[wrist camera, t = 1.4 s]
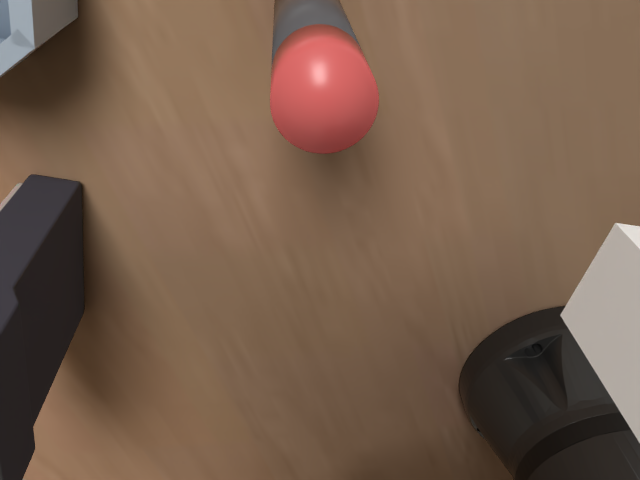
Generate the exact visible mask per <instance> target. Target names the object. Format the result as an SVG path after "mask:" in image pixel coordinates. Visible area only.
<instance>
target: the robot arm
mask: <svg viewBox="0 0 640 480" xmlns="http://www.w3.org/2000/svg"><path fill="white" fill-rule="evenodd" d="M459 391H460V396H461V399H462V402H463V405H464V408H465V410H466V413H467V416H468V418H469V420H470V422H471V424H472V426H473V427H474V428H475V430H476V431H477V432H478V433H479V434H480V435H481V436H482V437H483V438H484V439H485V440H486V441H487V442H488V444H489V445H490V446H491V448H492V449H493V451H494V452H495V453H496V455H497V456H498V457H499V459H500V460H501V461H502V463H503V464H504V465H505V467H506V468H507V469H508V471H509V472H510V473H511V475H512V476H513V478H514V480H640V226H633V225H626V224H619V223H615V224H614V226H613V228H612V229H611V231H610V233H609V234H608V236H607V238H606V239H605V241H604V243H603V244H602V246H601V248H600V249H599V251H598V253H597V254H596V256H595V258H594V259H593V261H592V263H591V265H590V266H589V268H588V270H587V271H586V273H585V275H584V276H583V278H582V280H581V281H580V283H579V285H578V286H577V288H576V290H575V291H574V293H573V295H572V296H571V298H570V300H569V301H568V303H567V305H566V306H564V307H556V308H550V309H546V310H542V311H538V312H535V313H532V314H529V315H526V316H524V317H521V318H519V319H517V320H514V321H512V322H511V323H509V324H507V325H505V326H503V327H502V328H500V329H498V330H497V331H495V332H494V333H493V334H491V335H490V336H489V337H488V338H486V339H485V340H484V341H483V342H482V343H481V344H480V345H479V346H478V347H477V348H476V349H475V350H474V351H473V353H472V354H471V355H470V357H469V358H468V360H467V361H466V363H465V365H464V367H463V370H462V372H461V376H460V381H459Z"/></svg>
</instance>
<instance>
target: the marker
mask: <svg viewBox="0 0 640 480" xmlns="http://www.w3.org/2000/svg"><path fill="white" fill-rule="evenodd" d="M378 105H379V93H378V88H377V84H376V81H375V79H374V77H373V74H372V72H371V70H370V68H369V66H368V63H367V61H366V59H365V57H364V54H363V52H362V50H361V48H360V45H359V43H358V41H357V39H356V36H355V34H354V32H353V30H352V28H351V25H350V23H349V21H348V19H347V16H346V14H345V12H344V10H343V7H342V5H341V3H340V1H339V0H275V5H274V26H273V49H272V71H271V94H270V108H271V114H272V117H273V120H274V123H275V125H276V127H277V128H278V130H279V132H280V133H281V134H282V135H283V136H284V138H285V139H287V140H288V141H289V142H290V143H291V144H293V145H294V146H296V147H298V148H300V149H302V150H305V151H308V152H312V153H319V154H327V153H334V152H338V151H341V150H344V149H347V148H348V147H350V146H352V145H354V144H355V143H357V142H358V141H359V140H360V139H361V138H363V137H364V135H365V134H366V133H367V132H368V131H369V129H370V128H371V126H372V124H373V122H374V120H375V118H376V115H377V111H378Z"/></svg>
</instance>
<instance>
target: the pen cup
mask: <svg viewBox="0 0 640 480" xmlns="http://www.w3.org/2000/svg"><path fill="white" fill-rule="evenodd" d="M76 18H78V0H0V77H2V76H3V75H4V74H6V73H7V72H8V71H10V70H11V69H12V68H14V67H15V66H16V65H18V64H19V63H20V62H22V61H23V60H25V59H26V58H27V57H28V56H29V55H30V54H31V53H33V52H34V51H35V50H36V49H38V48H39V47H40V46H42V45H43V44H44V43H45V42H47V41H48V40H49V39H50V38H52V37H53V36H54V35H55V34H57V33H58V32H59V31H61V30H62V29H63V28H64V27H66V26H67V25H68V24H70V23H71V22H72V21H74V20H75V19H76Z"/></svg>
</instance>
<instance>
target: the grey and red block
mask: <svg viewBox="0 0 640 480" xmlns="http://www.w3.org/2000/svg"><path fill="white" fill-rule="evenodd" d="M83 313H84V266H83V220H82V185H81V183H80V182H77V181H71V180H65V179H59V178H53V177H47V176H40V175H33V174H32V175H30V176H29V177H28V178H27V179H26V180H25V182H24V183H18V184H17V185H16V186H15V187H14V188H13V190H12V191H11V192H10V193H9V194H8V196H7V197H6V198H5V199H4V200H3V202H2V203H1V204H0V480H22V479H23V477H24V474H25V472H26V469H27V467H28V465H29V462H30V460H31V458H32V455H33V453H34V450H35V441H34V432H33V426H34V424H35V421H36V419H37V417H38V414H39V412H40V410H41V408H42V405H43V403H44V401H45V399H46V396H47V394H48V392H49V390H50V387H51V385H52V383H53V381H54V378H55V376H56V374H57V372H58V369H59V367H60V365H61V363H62V360H63V358H64V356H65V354H66V351H67V349H68V347H69V345H70V342H71V340H72V338H73V336H74V333H75V331H76V329H77V327H78V324H79V322H80V320H81V318H82V315H83Z"/></svg>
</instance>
